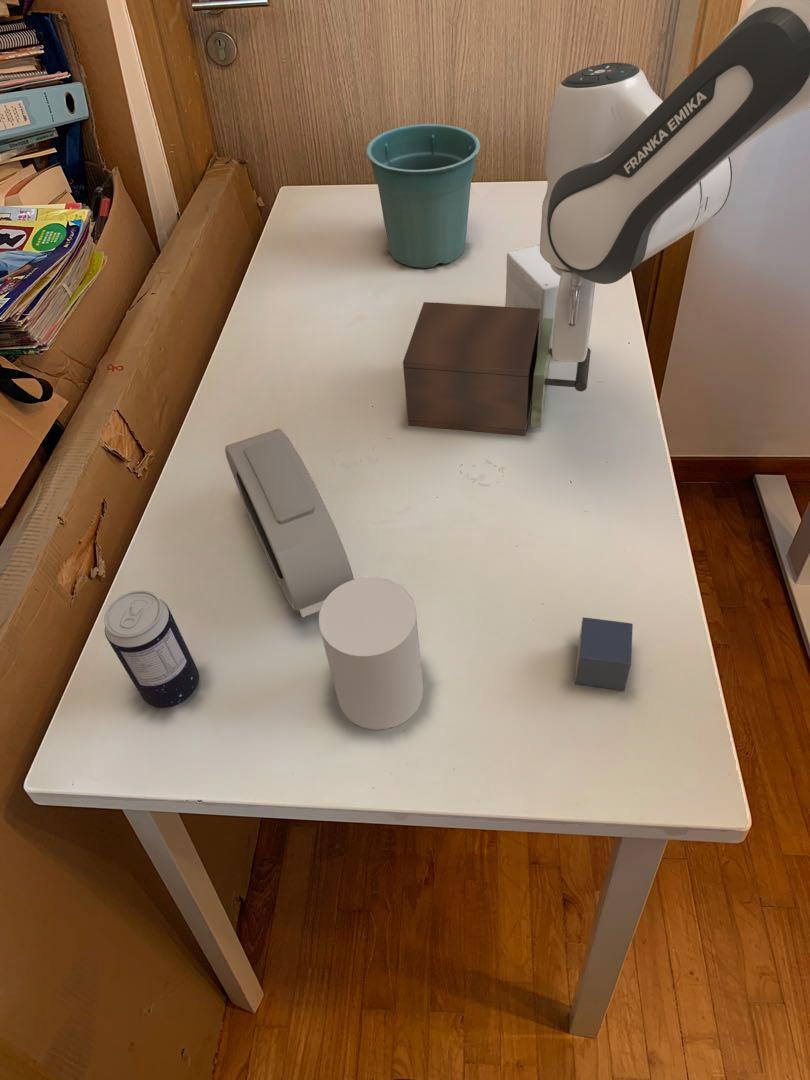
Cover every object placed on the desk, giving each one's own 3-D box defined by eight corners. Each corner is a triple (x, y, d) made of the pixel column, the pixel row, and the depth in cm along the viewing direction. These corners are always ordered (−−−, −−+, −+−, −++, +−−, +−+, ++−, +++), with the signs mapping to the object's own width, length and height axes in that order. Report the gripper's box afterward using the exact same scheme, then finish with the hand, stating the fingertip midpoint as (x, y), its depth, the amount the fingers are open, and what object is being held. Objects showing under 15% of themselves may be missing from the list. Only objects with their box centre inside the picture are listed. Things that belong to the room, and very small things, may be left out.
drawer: (588, 373, 105) (594, 320, 99) (581, 431, 98) (588, 378, 92) (446, 363, 109) (444, 311, 103) (430, 418, 101) (427, 366, 96)
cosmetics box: (580, 347, 110) (588, 277, 103) (537, 360, 109) (542, 290, 101) (543, 308, 117) (548, 240, 109) (503, 320, 116) (504, 252, 108)
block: (626, 650, 78) (632, 623, 75) (624, 691, 75) (631, 664, 72) (578, 644, 79) (582, 616, 76) (574, 684, 76) (579, 657, 73)
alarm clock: (238, 497, 96) (212, 412, 86) (288, 479, 97) (267, 394, 88) (304, 644, 81) (281, 562, 72) (362, 621, 83) (346, 537, 73)
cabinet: (536, 372, 107) (540, 308, 100) (525, 435, 99) (528, 371, 92) (427, 364, 110) (423, 301, 103) (408, 425, 102) (402, 361, 95)
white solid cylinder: (441, 686, 77) (436, 610, 68) (381, 746, 73) (367, 674, 64) (379, 640, 81) (367, 562, 72) (319, 694, 77) (298, 619, 68)
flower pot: (444, 213, 138) (440, 113, 126) (500, 254, 128) (502, 149, 116) (358, 244, 133) (346, 142, 121) (409, 288, 123) (402, 182, 111)
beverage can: (210, 667, 80) (176, 591, 71) (187, 717, 77) (148, 645, 68) (157, 658, 81) (117, 582, 72) (132, 707, 78) (87, 634, 69)
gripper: (608, 292, 78) (593, 405, 89) (617, 191, 92) (603, 300, 102) (542, 288, 80) (534, 400, 90) (560, 189, 93) (552, 297, 103)
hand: (571, 346), depth 96 cm, fingers closed
